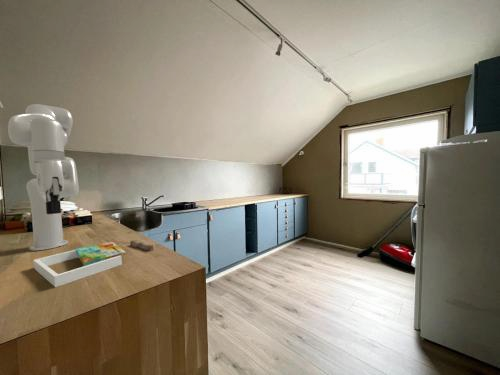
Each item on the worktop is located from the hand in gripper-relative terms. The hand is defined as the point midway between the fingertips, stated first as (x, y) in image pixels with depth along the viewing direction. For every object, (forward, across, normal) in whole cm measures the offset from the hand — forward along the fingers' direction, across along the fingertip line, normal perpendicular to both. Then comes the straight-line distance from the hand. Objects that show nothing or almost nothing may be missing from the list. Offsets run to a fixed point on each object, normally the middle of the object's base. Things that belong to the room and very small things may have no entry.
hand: (53, 213), depth 67 cm
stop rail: (+19, +2, +26) cm, 32 cm away
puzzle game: (+19, +2, +11) cm, 22 cm away
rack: (+19, +2, +5) cm, 20 cm away
